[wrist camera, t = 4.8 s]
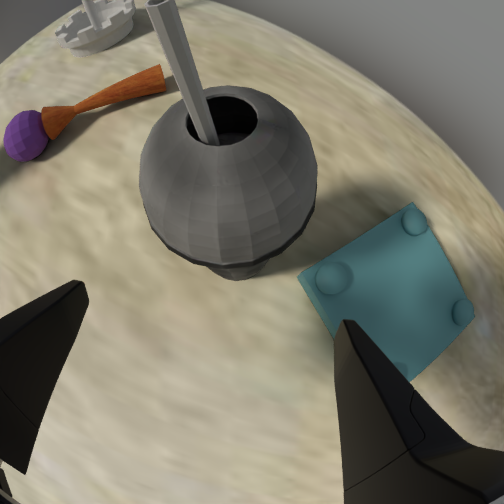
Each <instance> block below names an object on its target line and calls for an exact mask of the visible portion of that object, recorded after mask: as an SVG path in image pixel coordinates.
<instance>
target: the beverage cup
mask: <svg viewBox="0 0 504 504" xmlns="http://www.w3.org/2000/svg"><path fill="white" fill-rule="evenodd" d="M144 5H145V7H146V10H147V12H148V15H149V17H150V20H151V22H152V24H153V27H154V29H155V32H156V34H157V37H158V39H159V42H160V44H161V46H162V49H163V51H164V54H165V56H166V59H167V61H168V63H169V66H170V68H171V71H172V73H173V76H174V78H175V80H176V83H177V85H178V88H179V90H180V92H181V95H182V97H183V99H181V100H180V101H178V102H177V103H175V104H174V105H172V106H171V107H170V108H169V109H168V110H167V111H166V112H165V113H164V114H163V116H162V117H161V118H160V119H159V120H158V121H157V122H156V124H155V125H154V126H153V127H152V130H151V132H150V134H149V136H148V138H147V141H146V143H145V145H144V148H143V150H142V153H141V159H140V174H139V189H140V193H141V196H142V199H143V204H144V208H145V211H146V214H147V217H148V220H149V223H150V225H151V228H152V230H153V231H154V232H155V234H156V235H157V236H158V237H159V238H160V240H161V241H162V242H163V243H164V244H165V246H166V247H167V248H168V249H169V250H171V251H172V252H174V253H176V254H177V255H179V256H181V257H183V258H184V259H186V260H188V261H189V262H191V263H193V264H197V265H202V266H206V267H208V268H209V269H210V270H212V271H213V272H214V273H216V274H218V275H219V276H221V277H223V278H225V279H228V280H233V281H239V280H246V279H248V278H250V277H252V276H254V275H255V274H256V273H258V272H259V271H260V270H261V269H262V268H263V267H264V266H265V264H266V263H267V262H268V261H269V259H270V258H272V257H274V256H277V255H279V254H281V253H282V252H283V251H284V250H285V249H286V248H288V247H289V246H290V245H291V244H292V243H293V242H294V241H295V240H296V239H297V238H298V237H299V236H300V235H301V234H302V233H303V231H304V229H305V227H306V225H307V223H308V221H309V219H310V218H311V216H312V214H313V212H314V208H315V199H316V191H317V162H316V159H315V155H314V151H313V148H312V144H311V141H310V137H309V135H308V133H307V132H306V130H305V129H304V128H303V126H302V125H301V123H300V122H299V121H298V119H297V118H296V116H295V115H294V114H293V112H292V111H291V110H289V109H288V108H287V107H285V106H284V105H283V104H281V103H280V102H278V101H277V100H276V99H274V98H273V97H271V96H270V95H268V94H265V93H263V92H260V91H257V90H254V89H252V88H246V87H238V86H218V87H210V88H207V89H204V90H203V88H202V85H201V82H200V79H199V76H198V73H197V69H196V66H195V63H194V60H193V57H192V53H191V50H190V47H189V44H188V41H187V38H186V34H185V31H184V28H183V25H182V22H181V19H180V16H179V12H178V9H177V6H176V3H175V0H147V1H146V2H145V4H144Z"/></svg>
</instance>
